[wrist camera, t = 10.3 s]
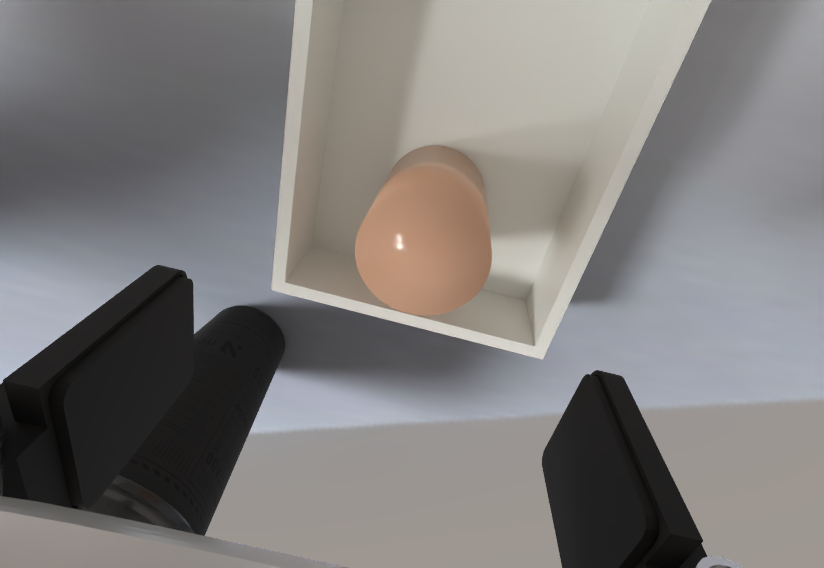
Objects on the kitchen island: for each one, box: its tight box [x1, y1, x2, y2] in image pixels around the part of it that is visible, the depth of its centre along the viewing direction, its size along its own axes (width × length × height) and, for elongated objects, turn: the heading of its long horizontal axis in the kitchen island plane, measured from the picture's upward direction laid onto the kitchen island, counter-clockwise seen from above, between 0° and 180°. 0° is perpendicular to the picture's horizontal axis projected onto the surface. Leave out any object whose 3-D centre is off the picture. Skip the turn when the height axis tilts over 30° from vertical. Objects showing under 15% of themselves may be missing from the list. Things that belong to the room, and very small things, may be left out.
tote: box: [271, 0, 711, 360], centre depth 19 cm, size 13×17×5 cm
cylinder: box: [355, 145, 492, 316], centre depth 20 cm, size 5×5×7 cm
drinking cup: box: [82, 306, 285, 536], centre depth 21 cm, size 8×8×20 cm
